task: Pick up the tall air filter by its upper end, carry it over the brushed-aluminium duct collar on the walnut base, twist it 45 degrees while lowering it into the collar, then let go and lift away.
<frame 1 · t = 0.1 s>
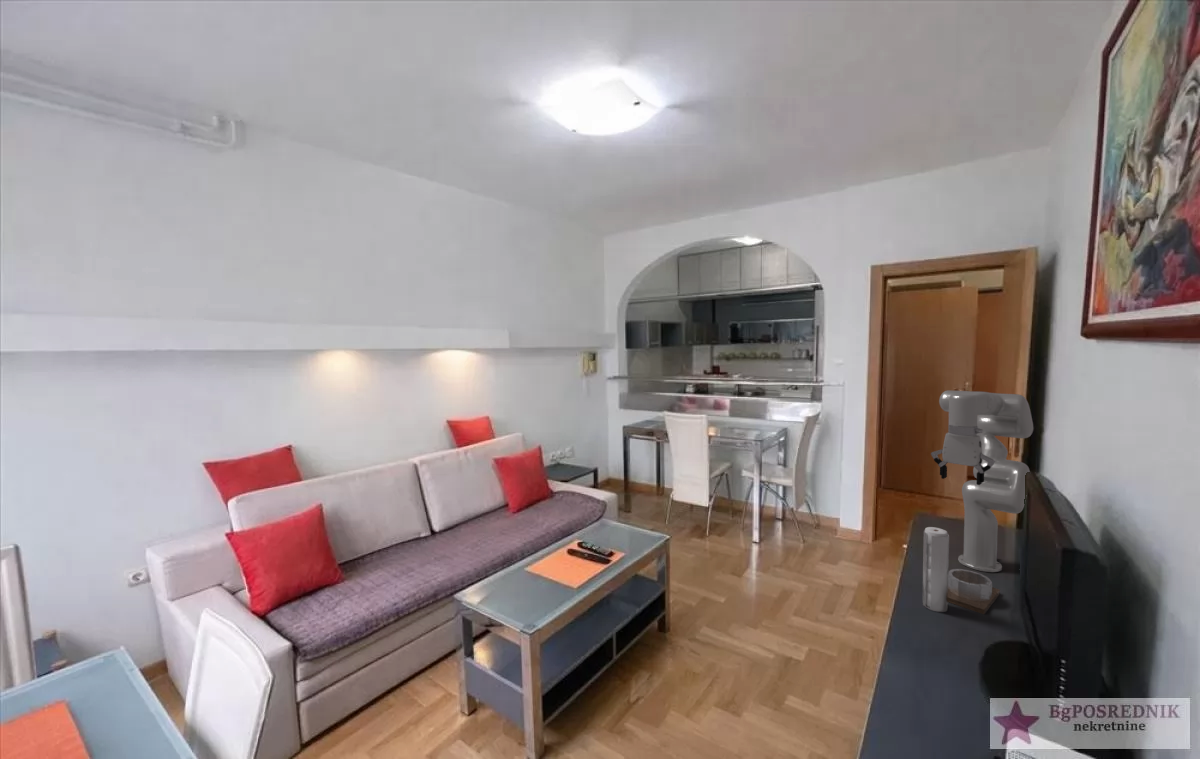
hand: (961, 480, 156), 37 cm above the table, tool pointing down, fingers open, 9 cm apart
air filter: (934, 607, 147), on the table
duct collar: (968, 596, 152), on the table
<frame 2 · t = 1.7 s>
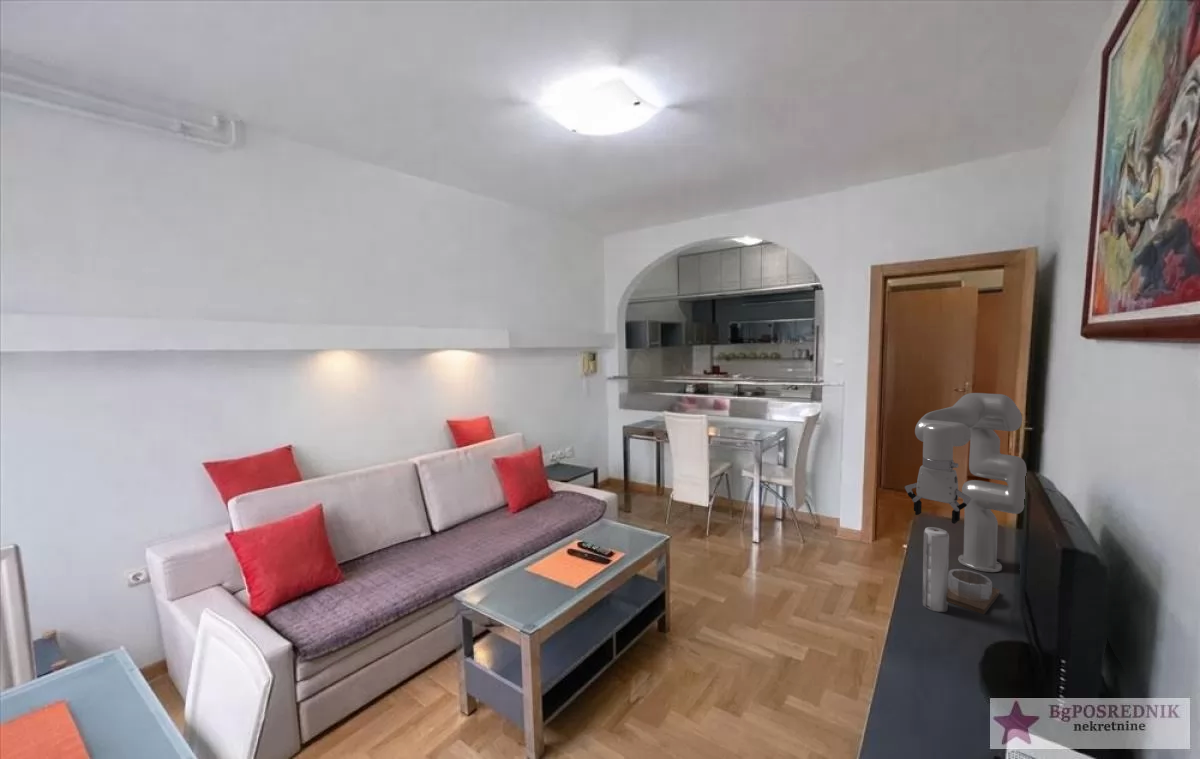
hand: (936, 518, 145), 29 cm above the table, tool pointing down, fingers open, 9 cm apart
nothing on the table moved.
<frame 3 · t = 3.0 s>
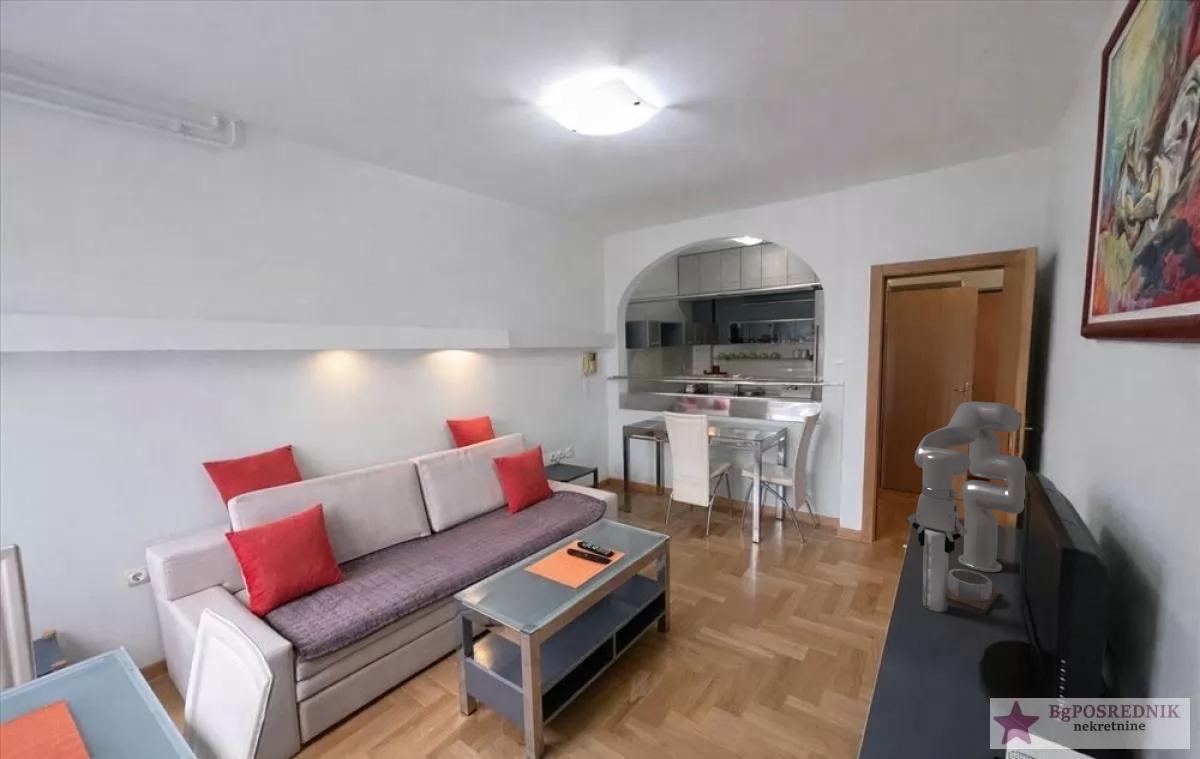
hand: (935, 547, 146), 19 cm above the table, tool pointing down, fingers closed on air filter, 6 cm apart
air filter: (934, 607, 147), on the table, touching gripper
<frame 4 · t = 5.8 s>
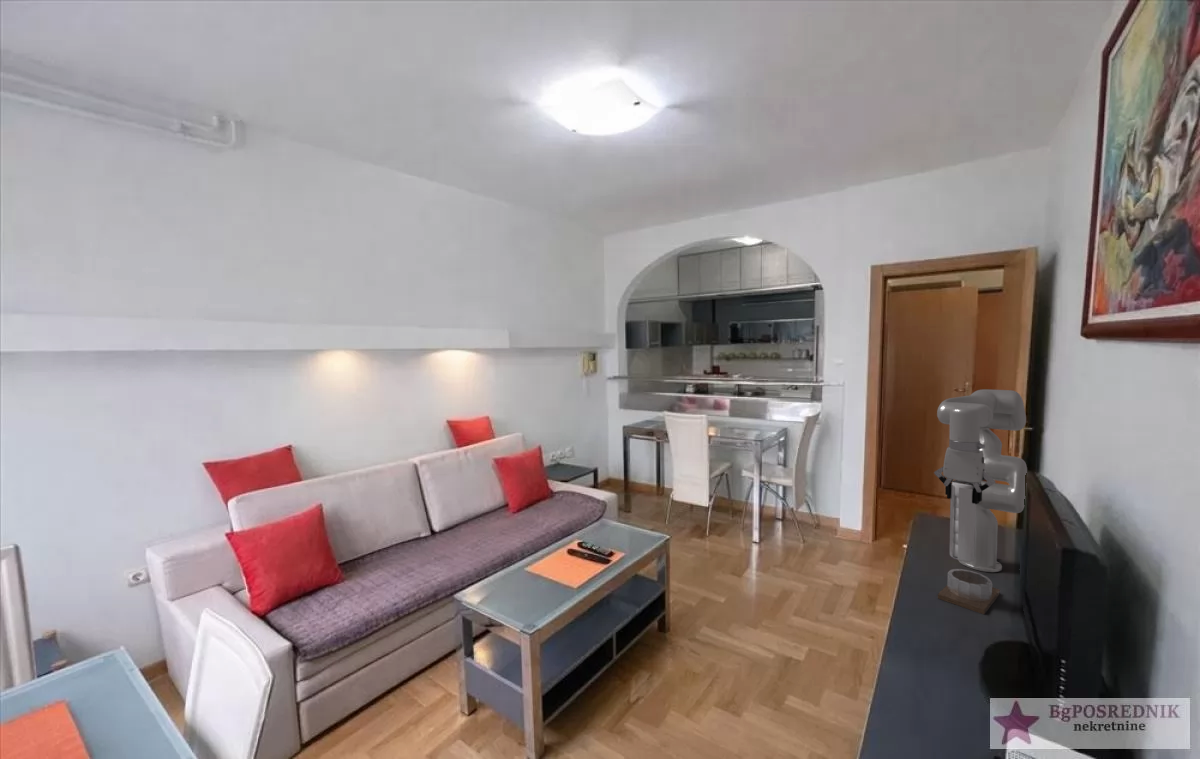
hand: (963, 499, 149), 33 cm above the table, tool pointing down, fingers closed on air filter, 6 cm apart
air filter: (962, 557, 151), point 14 cm above the table, touching gripper
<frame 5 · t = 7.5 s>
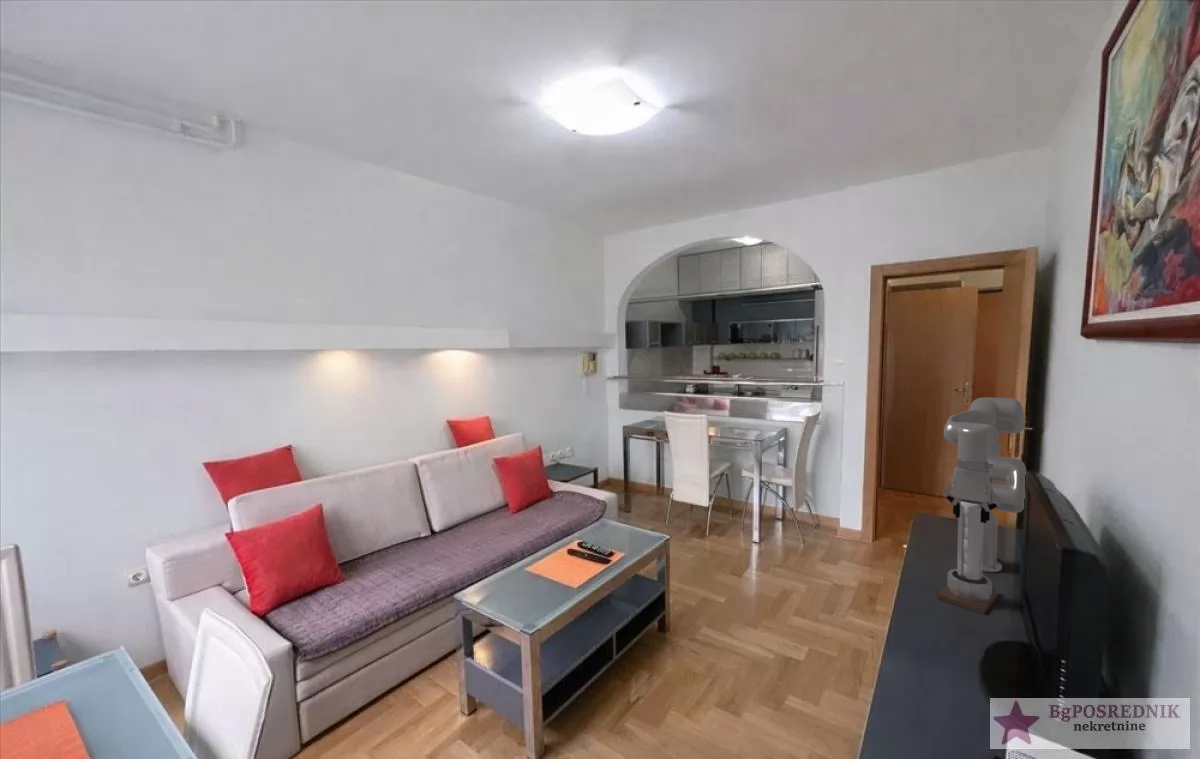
hand: (970, 518, 151), 26 cm above the table, tool pointing down, fingers closed on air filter, 6 cm apart
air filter: (969, 576, 152), point 7 cm above the table, touching gripper
when the fingers open (22 cm above the table, at t = 8.8 s): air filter drops 1 cm, resting on duct collar.
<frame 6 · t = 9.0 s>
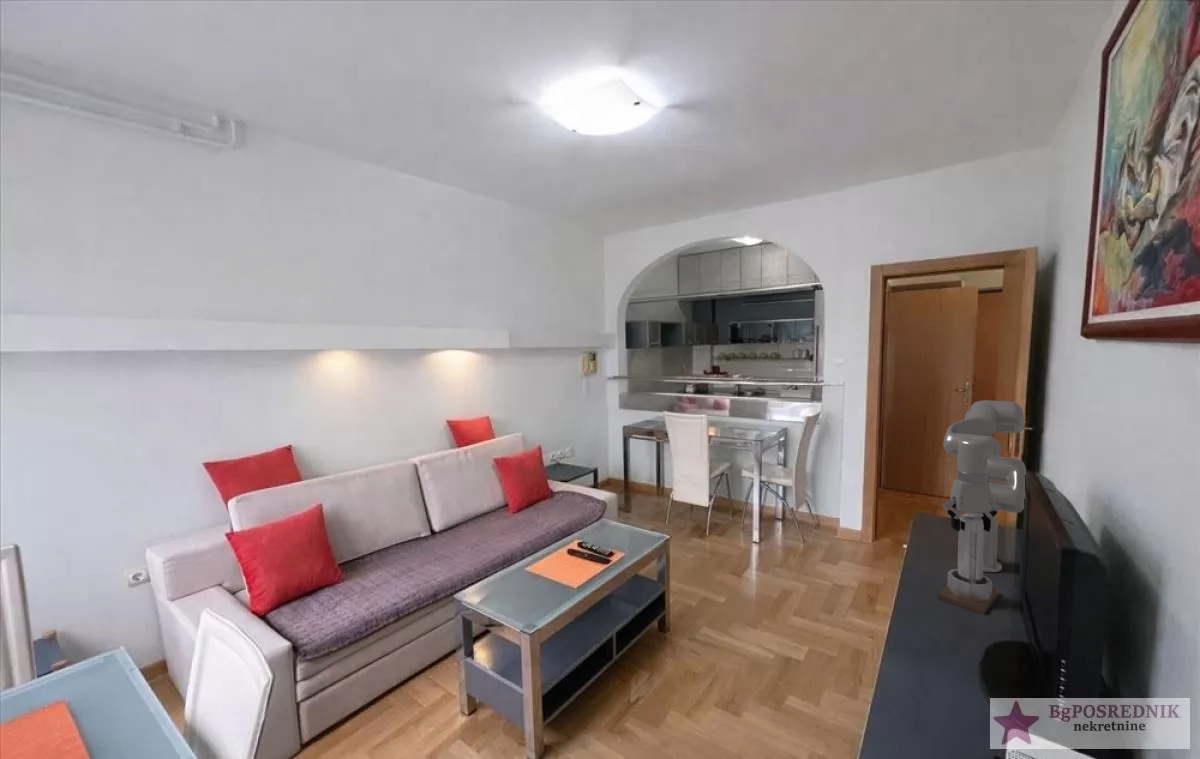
hand: (970, 529, 151), 22 cm above the table, tool pointing down, fingers open, 8 cm apart
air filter: (969, 592, 152), point 1 cm above the table, touching duct collar
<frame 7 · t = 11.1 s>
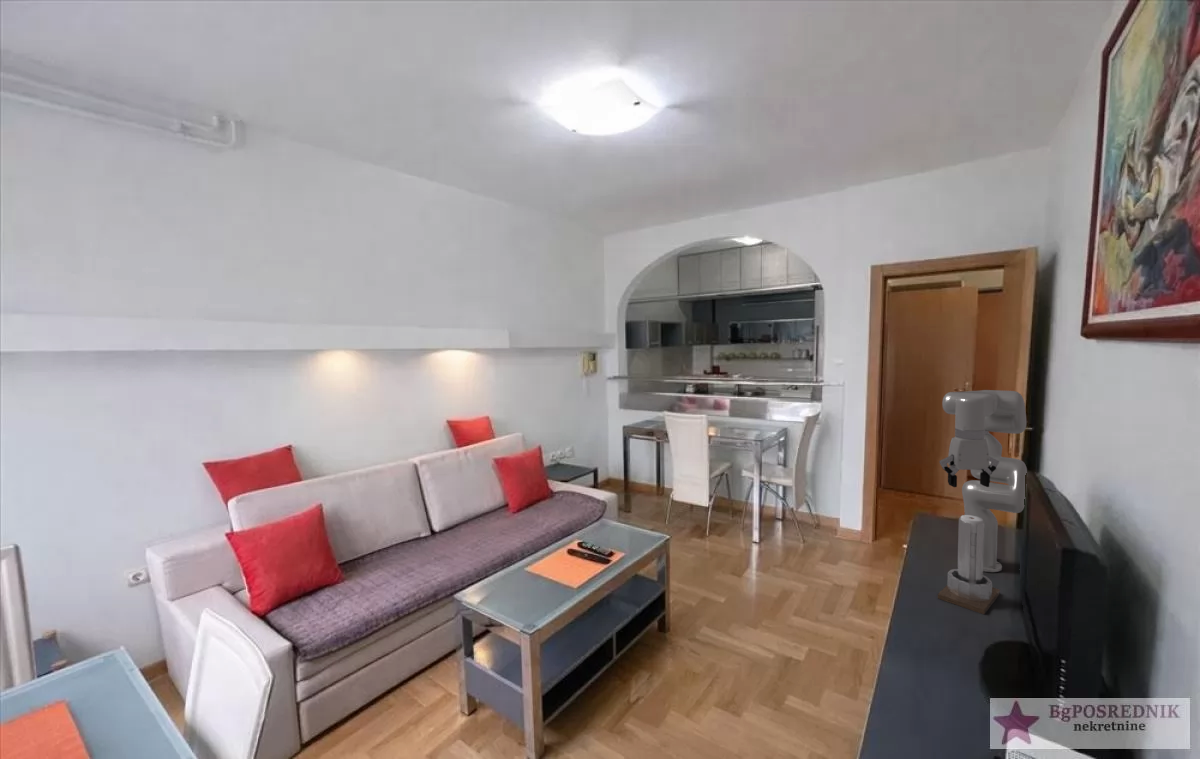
hand: (968, 485, 152), 36 cm above the table, tool pointing down, fingers open, 9 cm apart
nothing on the table moved.
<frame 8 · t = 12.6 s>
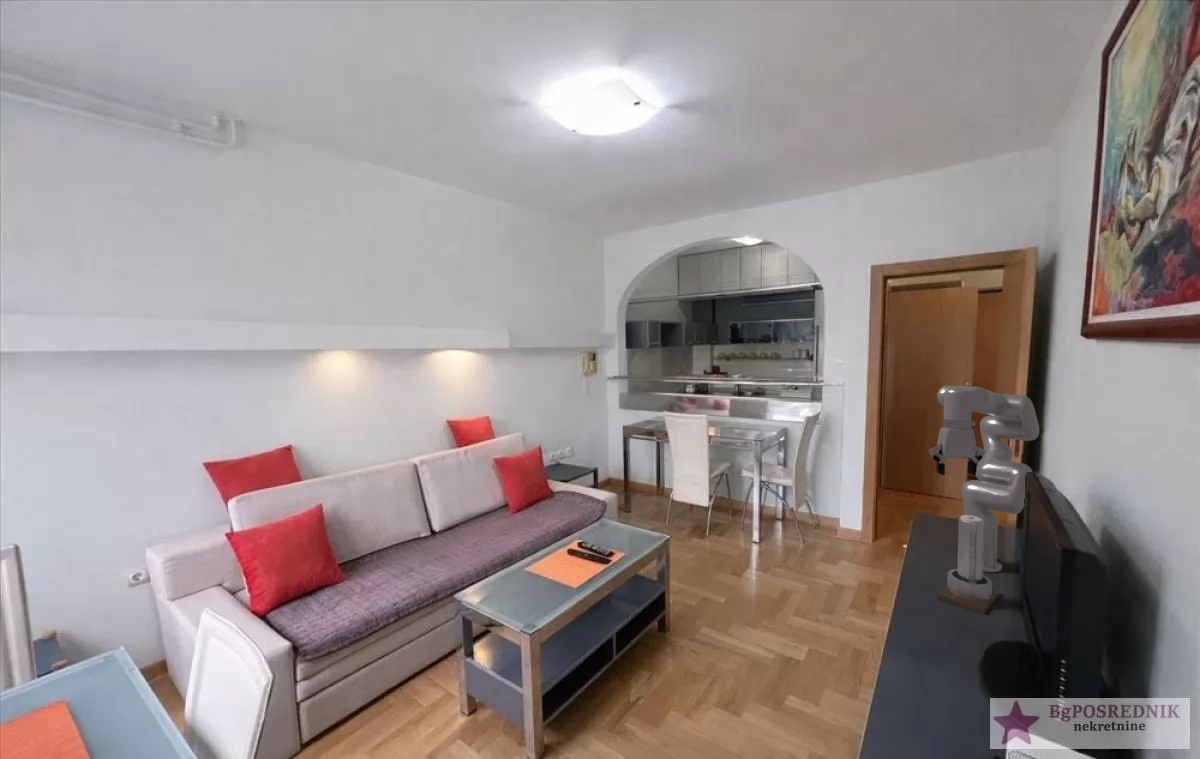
hand: (956, 474, 159), 38 cm above the table, tool pointing down, fingers open, 9 cm apart
nothing on the table moved.
at the end: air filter 0.3 cm off-centre on the duct collar, point 1.3 cm above the duct collar's base; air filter tilted 0°; the gripper is holding nothing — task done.
